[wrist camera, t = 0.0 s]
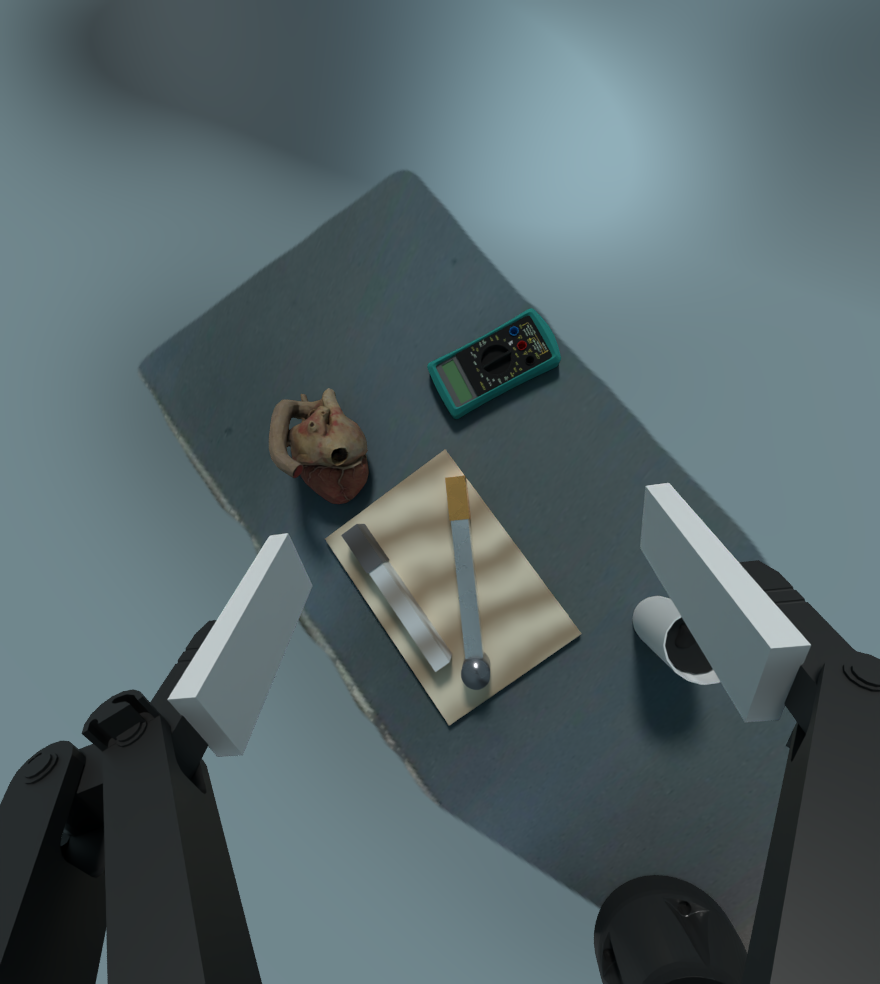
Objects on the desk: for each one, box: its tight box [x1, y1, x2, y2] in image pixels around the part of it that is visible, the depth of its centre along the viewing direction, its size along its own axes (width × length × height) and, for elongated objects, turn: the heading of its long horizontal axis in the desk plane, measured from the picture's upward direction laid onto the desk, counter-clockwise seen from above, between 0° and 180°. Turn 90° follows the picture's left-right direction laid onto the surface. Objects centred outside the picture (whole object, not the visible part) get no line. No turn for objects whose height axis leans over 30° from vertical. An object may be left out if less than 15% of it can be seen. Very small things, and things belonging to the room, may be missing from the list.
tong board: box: [325, 450, 581, 725], centre depth 49 cm, size 27×19×4 cm
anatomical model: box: [269, 389, 369, 504], centre depth 49 cm, size 13×9×15 cm
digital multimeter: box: [427, 308, 561, 419], centre depth 51 cm, size 8×15×3 cm, turn 117°
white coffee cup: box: [632, 596, 720, 685], centre depth 43 cm, size 7×7×10 cm
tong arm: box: [445, 475, 491, 690], centre depth 48 cm, size 24×3×4 cm, turn 6°
